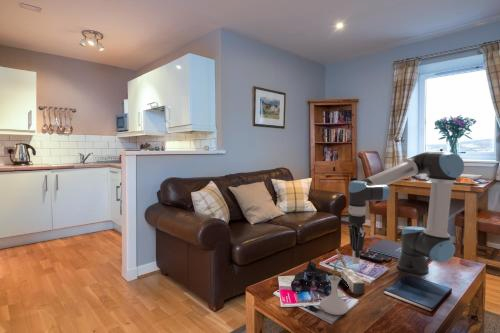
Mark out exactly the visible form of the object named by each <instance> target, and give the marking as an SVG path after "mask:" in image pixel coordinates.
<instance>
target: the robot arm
mask: <svg viewBox="0 0 500 333" xmlns="http://www.w3.org/2000/svg"><path fill="white" fill-rule="evenodd" d="M464 170H465V163H464V161H463V159H462V157H461V156H460V155H458V154H457V153H454V152H448V151H447V152H446V151H445V152H443V151H441V152H440V151H426V152H422V153H419V154H416V155H414V156H411V157H409V158H406V159H404V161H403V162H401V163H399V164H397V165H394V166H392V167H390V168H387V169H385V170H383V171H381V172H379V173H376V174H374V175H371V176H368V177H366V178H364V179H361V180H358V179H357V180H351V181H350V182H349V185H348V207H347V209H348V215H347V216H348V220H347V221H348V223H350V225H348V230H349V243H350V244H349V245H350V247H351V249H352V264H353V265H359V264H360V255H361V254H360V253H361V252H362V251H363V250H364V249H363V248H364V244H365V237H366V235H367V234H366V232H364V231H363V230H364V227H363V225H364V224H366V220H367V219H366V213H367V202H376V201H377V202H379V201H387V200H389V199H390V197H391V189H390V186H389V185H392V184H393V183H396V182H398V181H400V180H403V179H405V178H408V177H410V176H411V177H414V176H415V177H416V176H418V175H424V174H425V175H428V180H429V181H430V182H431V184H430V192H429V193H430V194H429V203H428V213H427V215H428V216H427V221H426V223H427V224H426V228H425V227H423V226H422V227H421V226H405V227H403V228H402V231H401V245H400V246H401V248H400V249H401V250H400V255H399V257H398V259H397V262H396V264H397V265H396V266H397V268H398V269H400V270H402V271H404V272H406V273H410V274H415V275H424V274H428V272H429V271H430V269H429V264H428V261H427V260H428V259H429V260H431V261H433V262H437V263H442V264H444V263H447V262H448V261H450V260H451V259H452V258H453V257H454V255H455V252H456V246H455V245H454V244H455V243H454V242H452V241H451V235H450V233H449V232H448V228H449V227H448V226H449V218H450V208H451V196H452V190H453V189H452V188H453V184H454V183H455V182H457V178H459V177H461V175H462V174H463V173H464V172H465V171H464ZM427 258H428V259H427Z"/></svg>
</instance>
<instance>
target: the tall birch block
mask: <svg viewBox="0 0 500 333" xmlns="http://www.w3.org/2000/svg"><path fill="white" fill-rule="evenodd" d="M340 278H343V279H344V280H345V281H346V282H347V284H348V286H349V288H348V289H349V290H350V291H351V293H353V295H363V294H364V295H365V287H366V284H365V282H364V281H363V279H361V278H360V277H359V276H358V275H357V274H356V273H355V271H353V270H352V269H351V268H349V269H348V268H345V269H344V268H343V269H341V270H340ZM348 286H347V287H348Z"/></svg>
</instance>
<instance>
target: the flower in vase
mask: <svg viewBox="0 0 500 333" xmlns="http://www.w3.org/2000/svg"><path fill="white" fill-rule="evenodd" d="M335 252H336V253H337V260H336V261H335V263H334V264H333V273H332V274H331V275H328V277H327V278H328V280H329V281H330V285H331V292H330V294H329V295H327V296H325V297H323V298H322V299H321V300H320V302H319V306H320V308H321V310H322V311H324V312H326V313H327V314H330V315H333V316H334V315H335V316H341V315H345V314H346V313H348V311H349V306H348V304H347V303H346V301H345V300H343V298H341V296H339V295H338V285H339V283H340V281H342V279H341V276H339V275H335V274H338V268H337V266H336V265H337V262H338V261H340V262H341V264H342V265H343V267H345V268H346V267H347V264H346V262H345V260H343V256H341V252H340V251H339V249H338V248H336V249H335Z"/></svg>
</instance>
